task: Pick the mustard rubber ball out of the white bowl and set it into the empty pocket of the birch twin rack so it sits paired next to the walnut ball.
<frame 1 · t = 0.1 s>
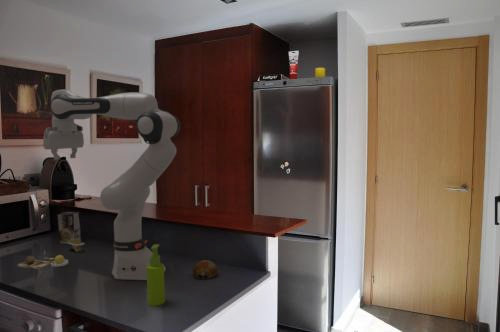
hand: (65, 159, 172), 48 cm above the counter, fingers open, 8 cm apart
bread roll: (205, 276, 162), on the counter
twin rack: (35, 265, 176), on the counter
soap dispenser: (156, 302, 138), on the counter
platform: (75, 252, 197), on the counter
mustard ball: (59, 263, 177), resting on white bowl
walnut ball: (30, 264, 177), resting on twin rack
coffee box: (70, 242, 213), on the counter
target card: (48, 258, 185), on the counter
white bowl: (59, 264, 177), on the counter
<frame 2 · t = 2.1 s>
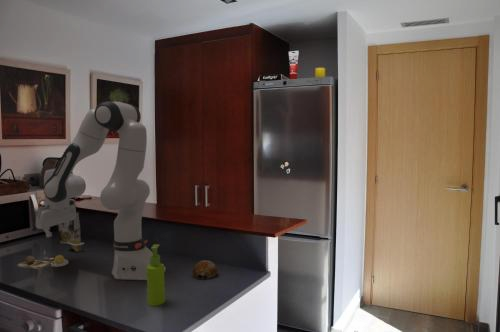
hand: (57, 234, 176), 14 cm above the counter, fingers open, 8 cm apart
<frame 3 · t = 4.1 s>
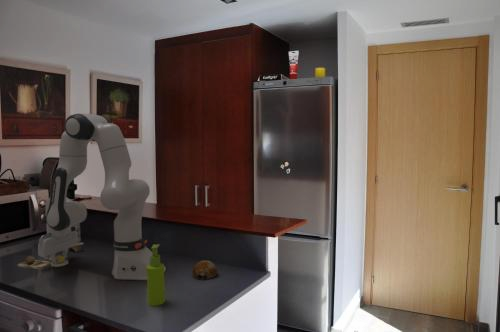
hand: (59, 260, 177), 2 cm above the counter, fingers closed on mustard ball, 4 cm apart
mustard ball: (59, 263, 177), resting on white bowl, touching gripper
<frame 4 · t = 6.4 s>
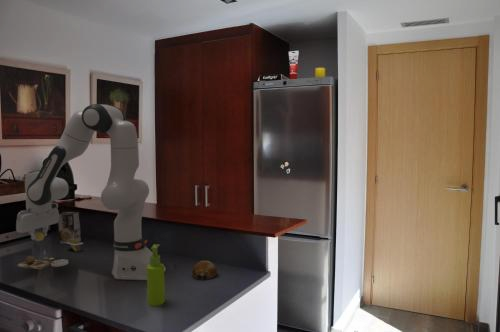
hand: (39, 237, 174), 13 cm above the counter, fingers closed on mustard ball, 4 cm apart
mustard ball: (39, 241, 174), point 12 cm above the counter, touching gripper
when the fingers open (3 cm above the counter, at t = 8.5 s): mustard ball drops 1 cm, resting on twin rack.
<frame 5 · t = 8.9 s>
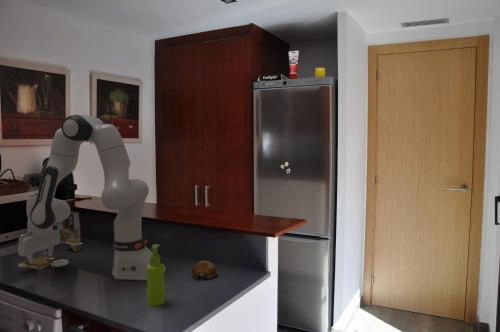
hand: (41, 259, 175), 3 cm above the counter, fingers open, 8 cm apart
mustard ball: (41, 265, 175), resting on twin rack
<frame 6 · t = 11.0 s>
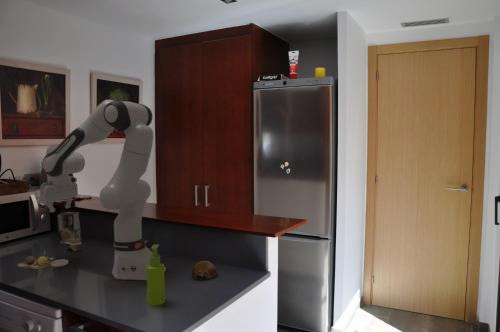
hand: (60, 210, 182), 24 cm above the counter, fingers open, 8 cm apart
mustard ball: (41, 265, 175), resting on twin rack, tilted 25°
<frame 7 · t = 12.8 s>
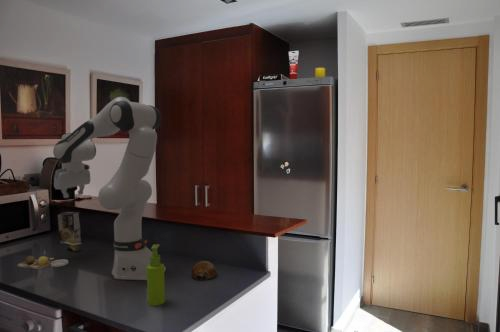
hand: (73, 196, 188), 29 cm above the counter, fingers open, 8 cm apart
mustard ball: (41, 265, 175), point 1 cm above the counter, tilted 31°, touching twin rack
at the end: mustard ball 0.0 cm from the target spot on the twin rack, point 0.6 cm above the twin rack's base; walnut ball moved 0.0 cm from its start; the gripper is holding nothing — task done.
